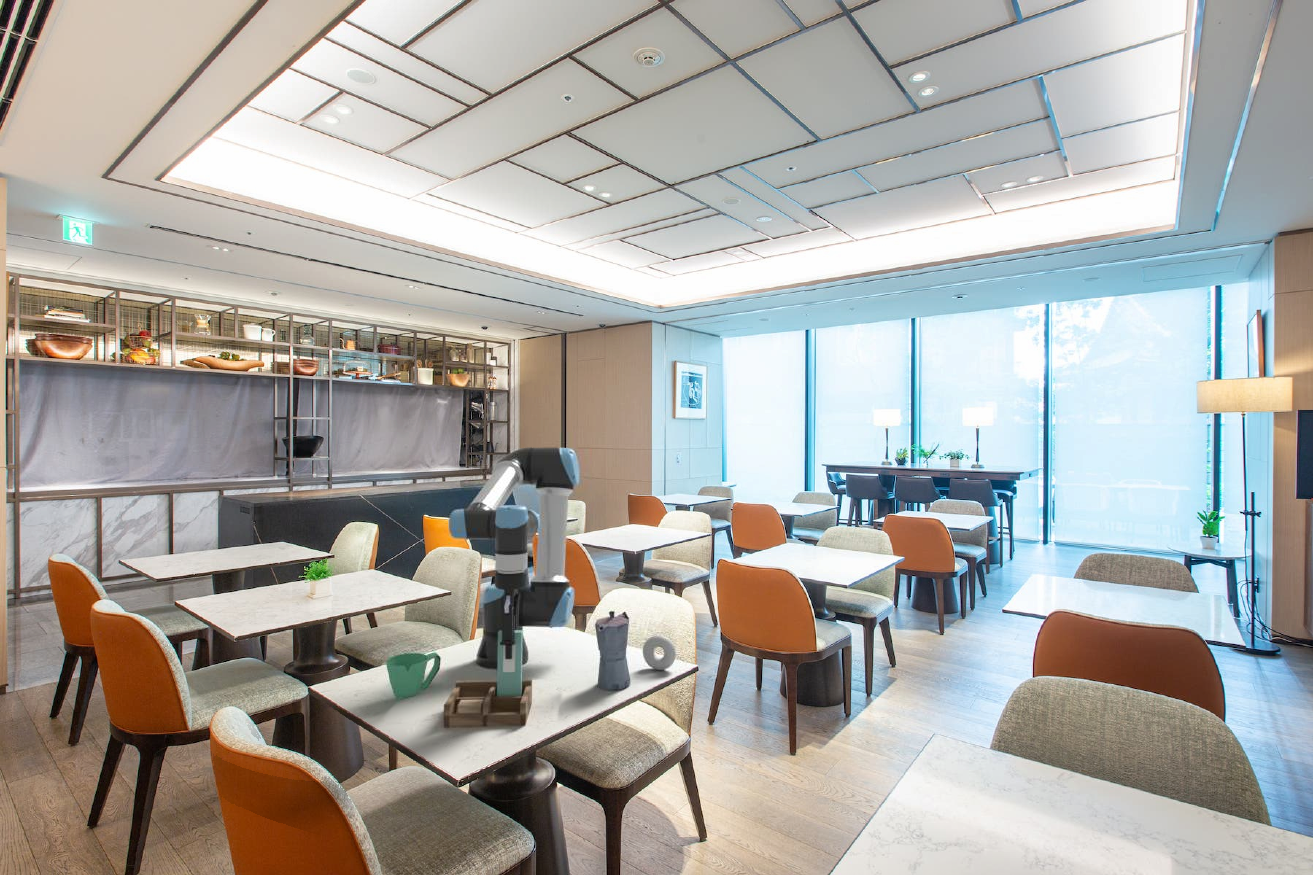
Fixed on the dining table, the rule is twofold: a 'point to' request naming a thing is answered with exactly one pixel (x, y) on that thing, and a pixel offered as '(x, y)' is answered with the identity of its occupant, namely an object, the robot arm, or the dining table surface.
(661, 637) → the donut
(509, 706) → the rack
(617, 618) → the moka pot
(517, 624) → the robot arm
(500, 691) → the panel
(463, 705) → the offcut top
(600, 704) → the dining table surface
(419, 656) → the mug
